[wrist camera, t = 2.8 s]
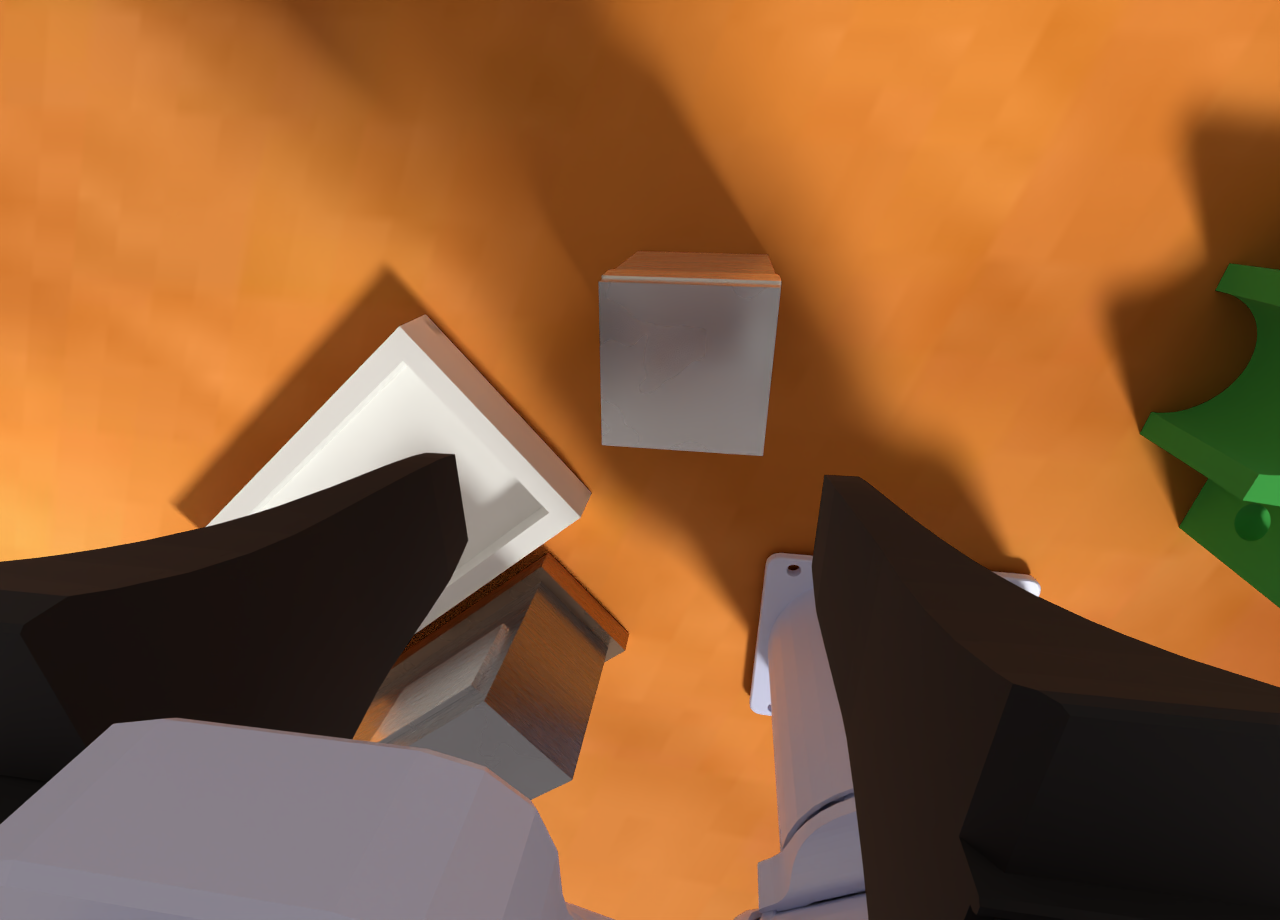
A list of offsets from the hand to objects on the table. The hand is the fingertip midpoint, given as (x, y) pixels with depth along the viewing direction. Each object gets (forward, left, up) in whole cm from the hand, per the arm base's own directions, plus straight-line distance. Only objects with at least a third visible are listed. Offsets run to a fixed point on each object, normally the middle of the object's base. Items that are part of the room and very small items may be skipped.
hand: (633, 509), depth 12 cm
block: (-1, -2, -10) cm, 10 cm away
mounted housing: (+8, +14, -10) cm, 19 cm away
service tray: (+12, +7, -10) cm, 17 cm away
